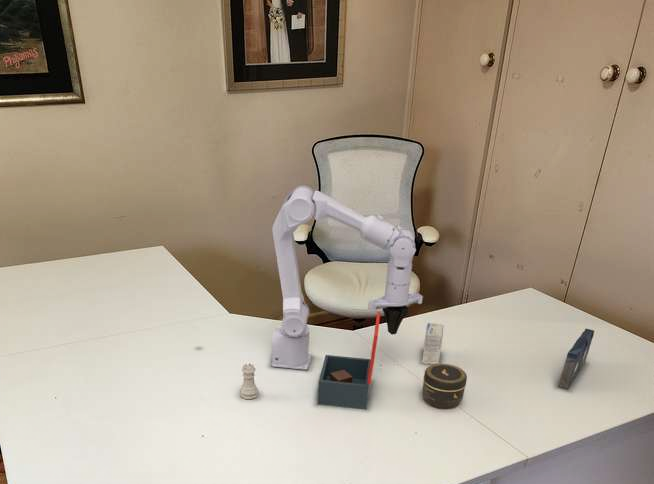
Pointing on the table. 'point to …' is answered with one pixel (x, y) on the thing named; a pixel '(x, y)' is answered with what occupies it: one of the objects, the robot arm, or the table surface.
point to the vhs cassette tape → (576, 359)
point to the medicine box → (432, 343)
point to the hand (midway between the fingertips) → (392, 332)
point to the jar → (443, 386)
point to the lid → (374, 348)
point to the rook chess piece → (248, 383)
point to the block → (341, 376)
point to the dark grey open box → (343, 391)
